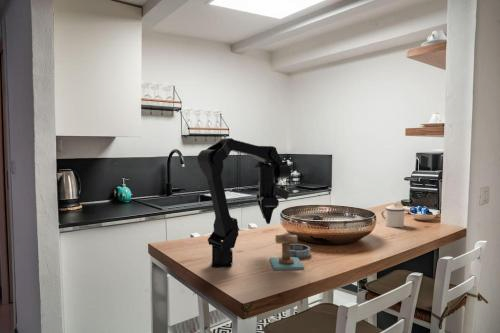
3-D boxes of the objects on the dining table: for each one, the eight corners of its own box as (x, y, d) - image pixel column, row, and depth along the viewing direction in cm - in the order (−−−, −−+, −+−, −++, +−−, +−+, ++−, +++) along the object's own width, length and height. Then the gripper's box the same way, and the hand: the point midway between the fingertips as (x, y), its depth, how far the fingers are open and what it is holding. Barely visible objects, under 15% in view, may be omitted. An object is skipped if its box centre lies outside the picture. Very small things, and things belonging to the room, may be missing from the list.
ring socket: (286, 258, 127) (286, 251, 127) (281, 250, 137) (281, 244, 137) (312, 257, 128) (312, 251, 128) (306, 249, 137) (306, 243, 137)
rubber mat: (273, 270, 115) (273, 267, 115) (269, 260, 125) (269, 257, 125) (304, 269, 116) (304, 266, 116) (297, 259, 126) (297, 257, 126)
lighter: (327, 238, 155) (327, 215, 154) (323, 239, 152) (323, 216, 152) (311, 235, 160) (311, 213, 160) (307, 236, 158) (307, 214, 157)
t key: (294, 259, 124) (295, 234, 123) (297, 264, 119) (298, 237, 118) (274, 260, 123) (275, 234, 122) (277, 264, 118) (277, 238, 117)
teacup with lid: (407, 226, 178) (408, 203, 177) (397, 228, 172) (398, 205, 171) (386, 222, 187) (387, 200, 186) (376, 224, 182) (376, 201, 181)
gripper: (293, 182, 124) (292, 226, 125) (283, 177, 143) (283, 215, 144) (261, 182, 123) (261, 226, 124) (256, 177, 142) (256, 216, 143)
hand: (266, 221), depth 134 cm, fingers open, 9 cm apart
